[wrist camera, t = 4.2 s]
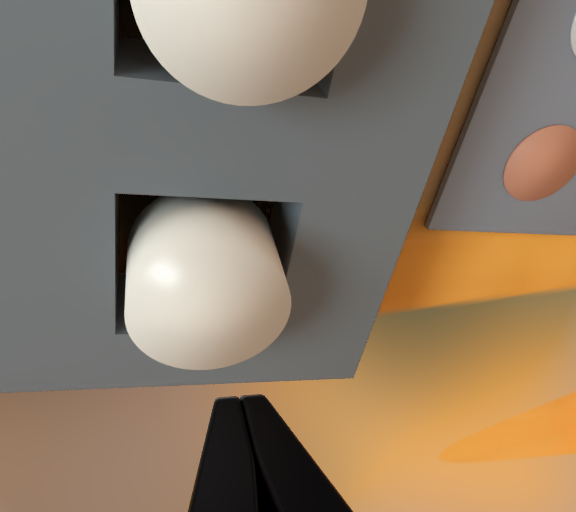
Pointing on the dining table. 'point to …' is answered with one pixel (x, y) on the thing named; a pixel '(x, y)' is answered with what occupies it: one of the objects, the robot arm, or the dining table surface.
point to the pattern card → (518, 132)
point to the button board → (209, 183)
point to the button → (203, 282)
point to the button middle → (248, 44)
